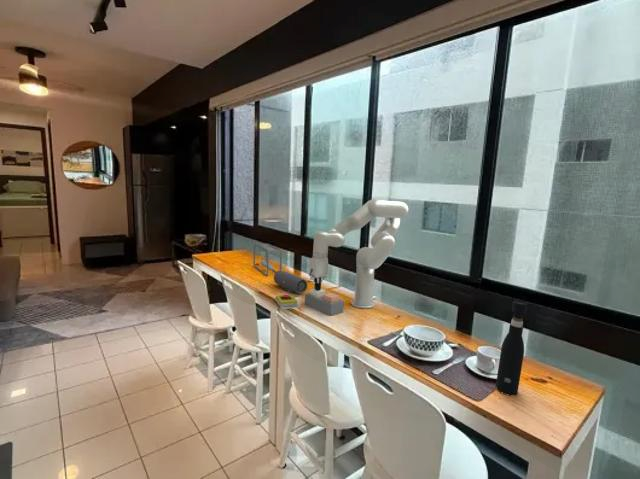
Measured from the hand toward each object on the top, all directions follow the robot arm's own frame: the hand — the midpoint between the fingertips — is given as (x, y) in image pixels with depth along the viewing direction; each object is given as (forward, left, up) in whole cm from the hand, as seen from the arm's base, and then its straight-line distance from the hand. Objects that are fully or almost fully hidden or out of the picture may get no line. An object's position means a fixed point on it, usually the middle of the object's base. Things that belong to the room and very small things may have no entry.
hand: (317, 289), depth 180 cm
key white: (0, 0, -5) cm, 5 cm away
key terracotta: (0, +10, -5) cm, 11 cm away
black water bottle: (+3, +94, -9) cm, 95 cm away
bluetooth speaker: (-5, -29, -9) cm, 31 cm away
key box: (0, +5, -9) cm, 10 cm away
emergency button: (+11, -11, -10) cm, 19 cm away
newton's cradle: (-20, -73, -9) cm, 76 cm away
